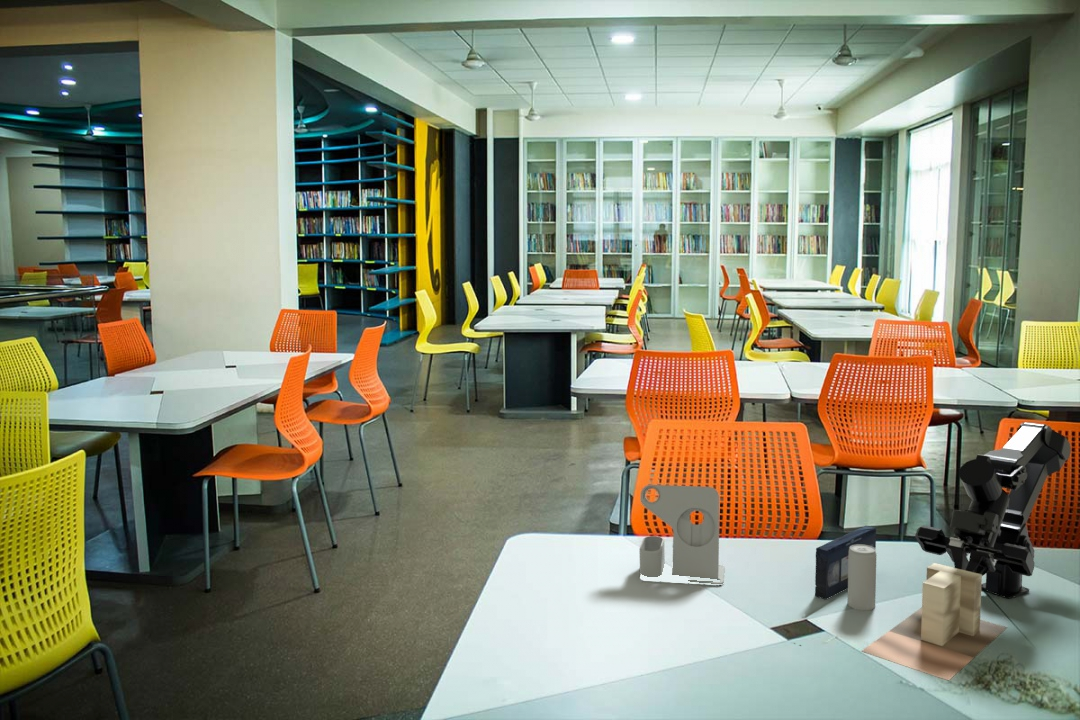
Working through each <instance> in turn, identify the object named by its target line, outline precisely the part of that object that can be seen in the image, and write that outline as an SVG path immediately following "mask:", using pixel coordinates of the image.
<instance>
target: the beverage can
mask: <svg viewBox="0 0 1080 720" xmlns="http://www.w3.org/2000/svg"><path fill="white" fill-rule="evenodd" d="M876 586H877V551H876V549H875V548H874V547H872V546H869V545H863V544H856V545H852V546H850V547H849V557H848V589H847V606H849V607H850V608H852V609H855V610H858V611H872V610H874V609H875V608H876V596H877V595H876V593H877V592H876V588H877V587H876Z"/></svg>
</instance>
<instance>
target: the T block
mask: <svg viewBox="0 0 1080 720" xmlns="http://www.w3.org/2000/svg"><path fill="white" fill-rule="evenodd" d="M982 577H983V576H982V574H978V573H974V572H969V571H965V570H961V569H957V568H955V567H953V566H950V565H949V566H948V565H945V564H940V563H935V562H933V563H932V564H931V565H928V566H927V567H926V580H924V581H923V582H922V593H921V594H922V595H921V597H922V599H921V607H922V623H921V640H924V641H928V642H931V643H934V644H937V645H941V646H943V645H944V644H945V643H946V642H948V641H949V640H950V639H951V638H952V637H954V636H955V635H956V634H957V633H959V632H960V633H964V634H967V635H971V636H974V635H975V634H976V633H977V632H978V631H979V630H980V620H981V604H982V589H981V584H983V583H982V580H983V578H982Z"/></svg>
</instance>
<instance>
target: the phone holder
mask: <svg viewBox="0 0 1080 720" xmlns="http://www.w3.org/2000/svg"><path fill="white" fill-rule="evenodd" d="M651 489H653V490H655V491H656V492H657V493H658V497H657V499H656V500H655V501H649V500H648V498H647V497H646V494H647V492H648V491H649V490H651ZM639 498H640V503H641V504H642V506H644V508H646V509H647V510H648V511H649V512H650V513H652V514H653V515H655V516H656V517H657V518H659V519H660V520H661V521H662V522H664V523H665V524H666V525H667V526H669V527H671V529H672V531H673V532H672V536H673V538H672V562H673V568H672V575H679V576H690V577H700V578H710V579H717V580H720V582H713V581H697V580H688V581H690V582H699V583H711V584H723V583H724V584H725V575H724V573H726V566H724V565H723V564H722V565H721V564H719V563H720V561H719V559H720V557H719V555H720V553H719V551H720V550H719V549H720V494H719V492H718V490H717V489H716V488H715V487H712V486H700V485H699V486H698V485H697V486H696V485H671V484H668V485H667V484H647V485H645V486H643V488H642V489H641V491H640V497H639ZM693 512H700V513H701V514H702V517H703V518H702V519H703V520H702V522H701V523H699V524H694V523H693V522H692V521H691V518H690V517H691V514H693ZM665 557H666V556H665V539H664V538H663V537H661V536H657V535H651V536H646V537H644V538H643V539H642V541H641V544H640V546H639V574H640V573H641V574H642V575H644V576H647V577H658V576H660V575H662V572H663V568H664V564H665V562H666V561H665ZM724 584H723V585H724Z"/></svg>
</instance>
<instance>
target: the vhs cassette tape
mask: <svg viewBox="0 0 1080 720" xmlns="http://www.w3.org/2000/svg"><path fill="white" fill-rule="evenodd" d="M876 539H877V528H876V527H874V526H870V525H863V526H862V527H859V528H857V529H855V530H852V531H851V532H848V533H846V534H844V535H843V536H839V537H837V538H835V539H833V540H830V541H829V542H827V543H824V544H823V545H820V546H818V547H816V549H815V573H814V575H815V577H814V578H815V579H814V581H815V583H814V584H815V587H814V589H815V591H814V596H815V597H816V598H820V597H821V599H823V600H828V599H830V598H832V597H834V596H836V595H838V594H840V593H842V592H844V591H846V590H848V557H849V547H850V546H852V545H856V544H863V545H869V546H872V547H874V548H875V549H876V546H877V540H876ZM845 589H846V590H845ZM843 590H844V591H843ZM841 591H842V592H841ZM839 592H840V593H839ZM837 593H838V594H837ZM835 594H836V595H835ZM831 596H832V597H831ZM829 597H830V598H829ZM827 598H828V599H827Z"/></svg>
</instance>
